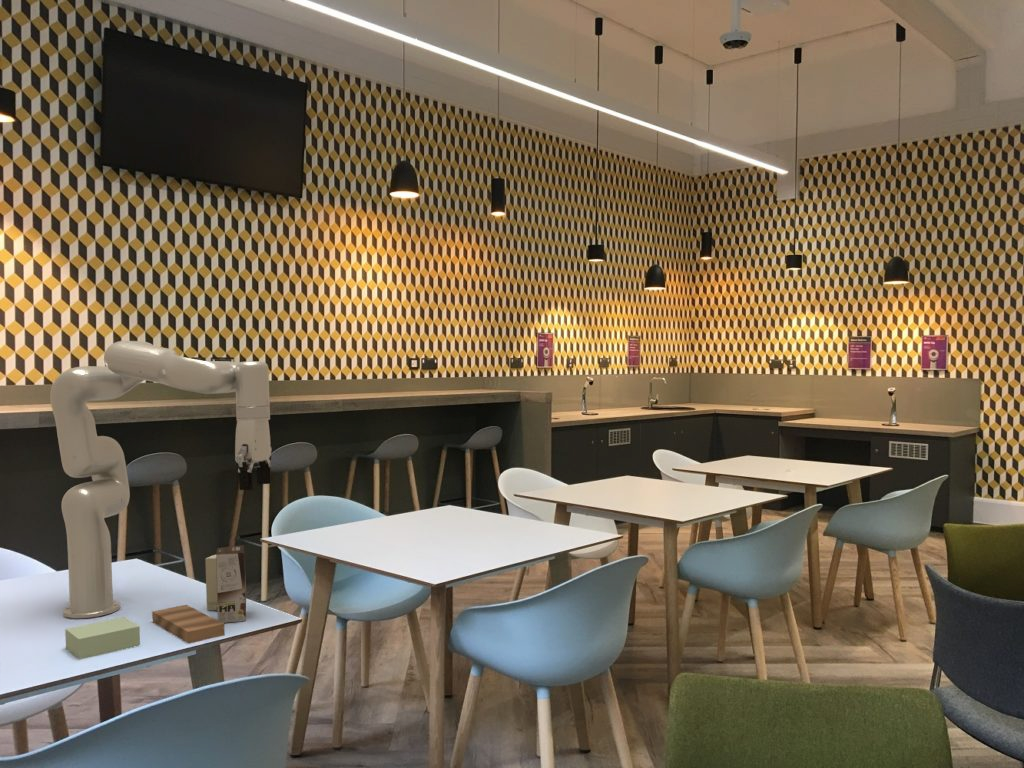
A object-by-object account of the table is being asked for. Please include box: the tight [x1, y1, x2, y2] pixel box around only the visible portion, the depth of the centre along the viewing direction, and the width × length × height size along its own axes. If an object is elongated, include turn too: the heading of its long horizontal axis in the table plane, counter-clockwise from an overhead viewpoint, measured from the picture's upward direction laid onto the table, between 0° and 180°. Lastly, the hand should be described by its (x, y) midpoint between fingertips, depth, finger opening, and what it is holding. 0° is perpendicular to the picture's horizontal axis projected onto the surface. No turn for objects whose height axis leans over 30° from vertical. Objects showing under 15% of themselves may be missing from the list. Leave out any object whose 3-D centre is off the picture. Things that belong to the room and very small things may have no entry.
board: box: [151, 604, 226, 644], centre depth 197 cm, size 22×8×3 cm, turn 41°
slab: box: [64, 616, 141, 660], centre depth 185 cm, size 10×12×4 cm
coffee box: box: [215, 545, 247, 624], centre depth 205 cm, size 9×6×16 cm
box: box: [204, 554, 218, 611], centre depth 213 cm, size 5×4×13 cm
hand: (255, 486), depth 204 cm, fingers open, 9 cm apart
